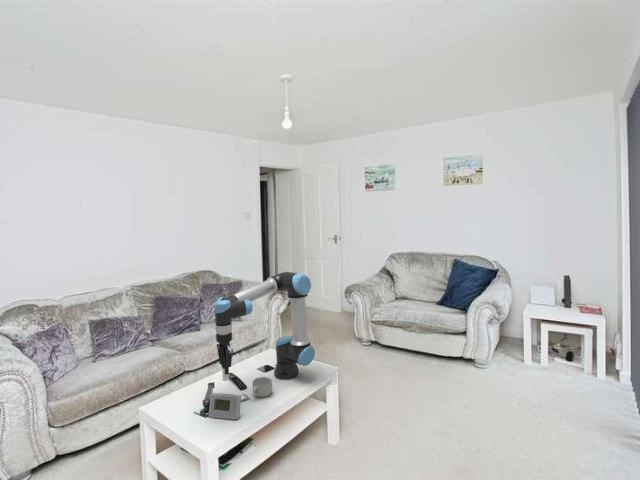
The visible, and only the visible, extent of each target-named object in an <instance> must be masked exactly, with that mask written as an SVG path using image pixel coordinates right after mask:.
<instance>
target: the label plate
mask: <svg viewBox="0 0 640 480" xmlns="http://www.w3.org/2000/svg"><path fill="white" fill-rule="evenodd" d="M240 396H241V403H243V402H246V401H249V400H251V397H250V396H249V395H247V394H246V393H244V394H240Z"/></svg>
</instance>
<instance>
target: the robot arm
mask: <svg viewBox="0 0 640 480" xmlns="http://www.w3.org/2000/svg"><path fill="white" fill-rule="evenodd" d="M311 288H312V283H311V279H310V277H309V276H308V275H306V274H304V273H300V272H290V271H282V272H280V273H277V274H274V275H272V276H270V277H268V278H267V279H266V280H264V281H262V282H260V283H257V284H255V285H253V286H250V287H248V288H245V289H243V290H241V291H239V292H236V293H234V294H232V295H229V296H221V297H219V298H217V300H216V302H215V303H214V319H215V328H214V330H215V333H216V334H215V342H217V344H216V349H217V355H218V362H219V365H221V368H222V369H221V371H222V381H223V382H227V381H229V380H230V369H229V368H231V367H232V361H233V360H232V359H233V353H234V349H233V348H231V343H230V342H231V341H232V340H233V333H232V331H233V326H232V320H233V319H237V318H241V317H244V316H245V317H246V316H248V315H250V314H252V313H253V311H254V309H253V307H254V306H253V303H252V302H253V301H256V300H258V299H260V298H262V297H264V296H267V295H269V294H275V293H277V292H286V294H287V298H288V300H290V314H291V315H290V316H291V329H292V330H291V331H292V335H291V336H290V335H286V336H283V337H279V338H277V339H276V342H275V353H276V364H275V367H274V372H273V377H275V378H276V379H278V380H282V379H283V380H284V379H287V380H292V379H291V378H293V379H295V378H297V377H298V376H299V375H298V374H299V368H298V365H299V366H304V367H305V366H309V365H310V364H311V363H312V362H313V360H314V358H315V357H316V356H315V355H316V351H315V348H314V346H311V340H310V338H308V326H307V325H308V322H307V309H306V308H307V307H306V298H307V297H308V294H309V293H310V291H311ZM297 364H298V365H297ZM297 375H298V376H297ZM296 376H297V377H296ZM294 377H295V378H294ZM283 380H282V381H283Z"/></svg>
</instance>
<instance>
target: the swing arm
mask: <svg viewBox="0 0 640 480" xmlns="http://www.w3.org/2000/svg"><path fill="white" fill-rule="evenodd" d="M214 389H215V382H208V383H207V390H206V394H205V396H204V399H203V400H202V406H203V407H204V406H205V407H206V406H210V398H211V394H212V393H213V391H214Z"/></svg>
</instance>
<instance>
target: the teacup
mask: <svg viewBox="0 0 640 480" xmlns="http://www.w3.org/2000/svg"><path fill="white" fill-rule="evenodd" d="M272 389H273V379H272V378H271V377H269V376H259V377H255V378H254V379H253V380H252V394H253V395H255V396H257V397H258V398H265V397H267V396H269V395H270V394H271V393H272Z"/></svg>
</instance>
